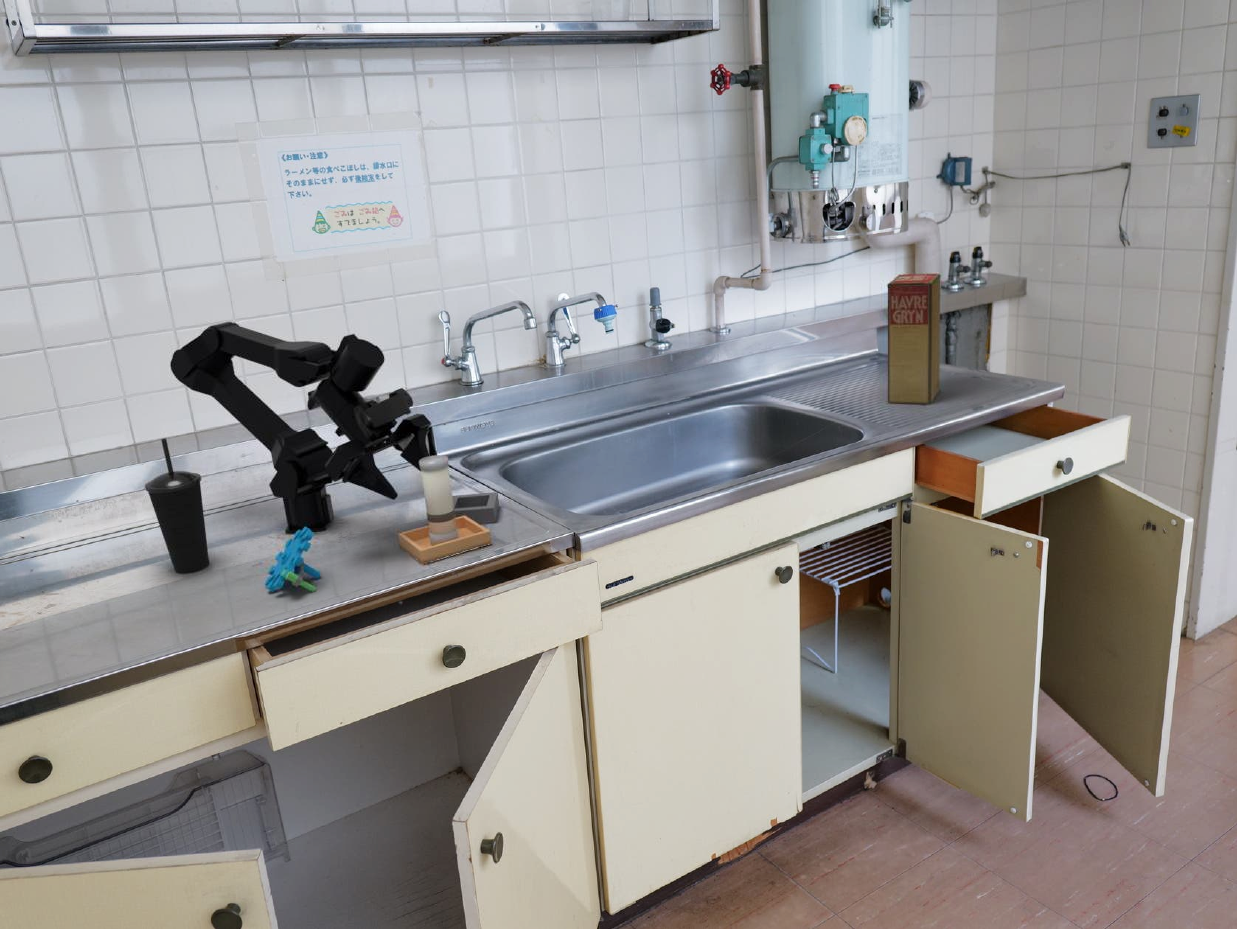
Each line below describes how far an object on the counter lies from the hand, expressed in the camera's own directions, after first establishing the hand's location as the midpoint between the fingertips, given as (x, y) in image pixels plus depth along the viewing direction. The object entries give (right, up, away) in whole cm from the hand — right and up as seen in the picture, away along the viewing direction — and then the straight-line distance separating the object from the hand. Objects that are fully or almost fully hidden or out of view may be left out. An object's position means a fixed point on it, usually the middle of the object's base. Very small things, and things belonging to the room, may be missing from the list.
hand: (416, 487), depth 148 cm
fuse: (+4, -8, +1) cm, 9 cm away
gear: (-15, -14, -9) cm, 22 cm away
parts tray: (+4, -9, +1) cm, 10 cm away
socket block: (+7, -5, +12) cm, 15 cm away
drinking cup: (-34, -12, +1) cm, 36 cm away
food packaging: (+93, +18, +63) cm, 113 cm away
